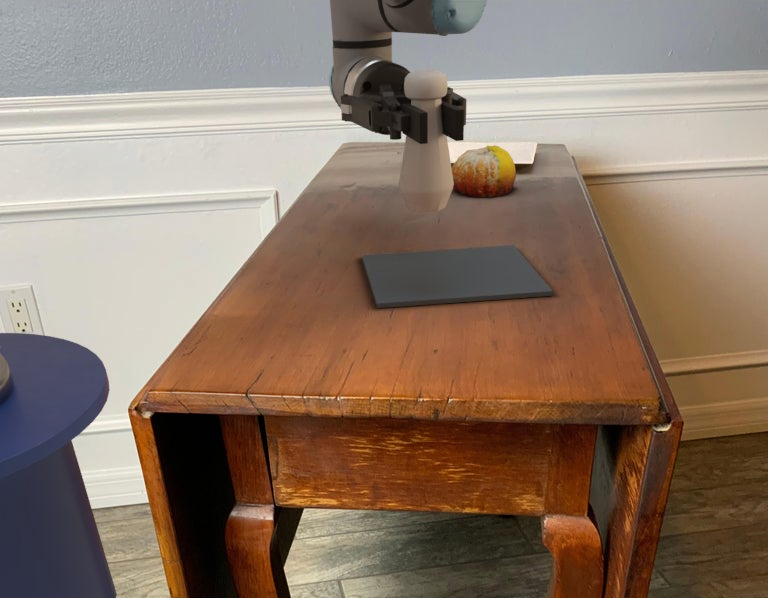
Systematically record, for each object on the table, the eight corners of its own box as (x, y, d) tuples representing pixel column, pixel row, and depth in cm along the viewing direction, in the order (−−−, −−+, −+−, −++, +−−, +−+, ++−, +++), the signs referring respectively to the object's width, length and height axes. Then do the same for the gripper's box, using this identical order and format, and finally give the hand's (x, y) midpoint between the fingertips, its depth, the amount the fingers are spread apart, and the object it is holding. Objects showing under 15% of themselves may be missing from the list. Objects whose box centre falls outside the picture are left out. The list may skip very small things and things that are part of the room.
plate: (441, 153, 158) (442, 141, 157) (536, 153, 155) (537, 141, 153) (427, 173, 143) (427, 161, 142) (532, 174, 140) (532, 162, 138)
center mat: (376, 308, 88) (376, 303, 87) (362, 259, 103) (362, 254, 102) (552, 296, 89) (553, 290, 89) (513, 249, 104) (513, 244, 104)
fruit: (453, 179, 137) (468, 130, 132) (510, 199, 136) (527, 151, 131) (440, 192, 128) (455, 141, 123) (500, 214, 127) (518, 164, 122)
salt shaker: (457, 212, 84) (460, 72, 76) (404, 216, 83) (401, 75, 76) (446, 199, 88) (448, 66, 81) (395, 202, 88) (392, 69, 80)
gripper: (445, 125, 99) (517, 161, 80) (319, 135, 96) (363, 175, 77) (446, 56, 94) (522, 77, 76) (313, 64, 91) (359, 89, 73)
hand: (441, 126), depth 76 cm, fingers closed on salt shaker, 3 cm apart
